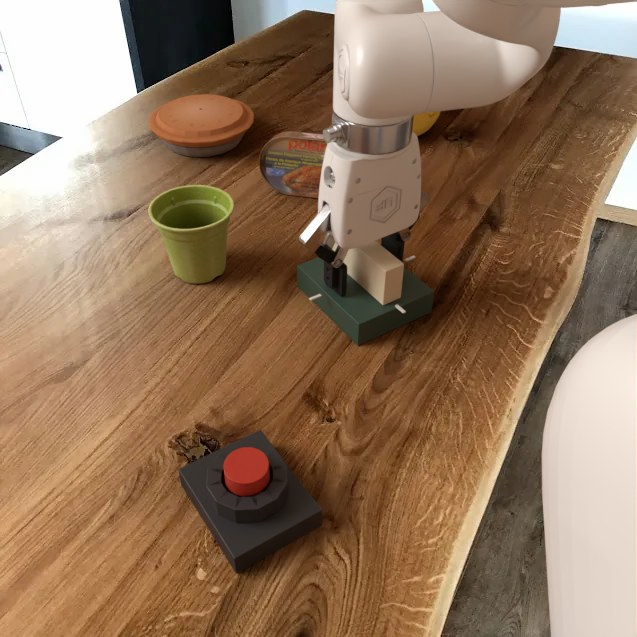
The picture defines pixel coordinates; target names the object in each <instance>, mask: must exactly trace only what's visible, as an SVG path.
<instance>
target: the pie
mask: <svg viewBox="0 0 637 637" xmlns="http://www.w3.org/2000/svg"><path fill="white" fill-rule="evenodd" d="M254 119H255V113H254V111H253V110H252V109H251V107H250V106H248V105H247V104H245V103H244V102H242V101H239V100H236V99H233V98H230V97H228V96H225V95H220V94H219V95H218V94H206V93H203V94H192V95H186V96H180V97H178V98H175V99H172V100H170V101H168V102H167V103H165V104H162V105H160V106H159V107H157V108H155V110H153V112H152V113H151V114H149V120H148V124H149V129H150V131H151V132H152V133H154V135H156V136H157V137H158V138H159V139H160V140H161V142H162V143H163V144H164V145H165V146H166V147H167V148H168V149H169V150H171V152H173V153H175V154H178V155H180V156H184V157H190V158H209V157H210V158H211V157H215V156H219V155H223V154H226V153H228V152H230V151H232V150H233V149H235V148H236V147H237V146H238V145H239V144H240V142H241V140H242V139H243V137H244V136H245V134H246V133H247V132H248V131H249V129H250V127H252V125H253V124H254Z"/></svg>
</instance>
